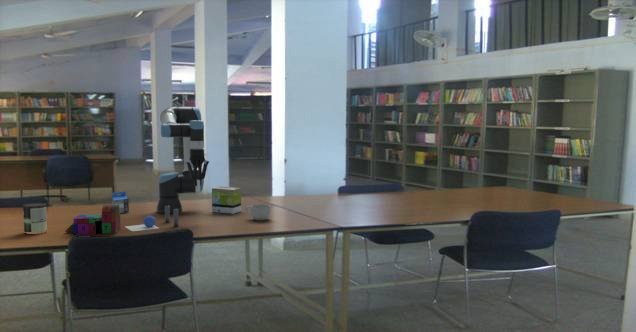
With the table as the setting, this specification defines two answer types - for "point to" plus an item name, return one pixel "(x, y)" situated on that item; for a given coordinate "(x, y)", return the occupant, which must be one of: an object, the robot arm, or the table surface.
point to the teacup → (259, 211)
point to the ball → (149, 221)
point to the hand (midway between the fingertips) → (197, 191)
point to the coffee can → (35, 217)
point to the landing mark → (140, 227)
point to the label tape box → (121, 201)
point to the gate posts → (175, 215)
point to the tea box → (226, 200)
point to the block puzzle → (98, 221)
